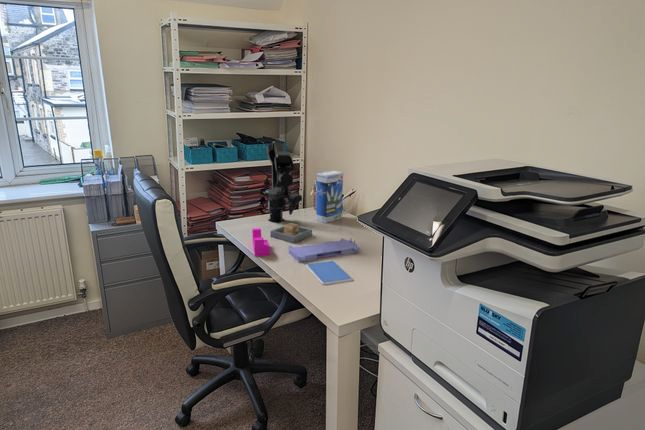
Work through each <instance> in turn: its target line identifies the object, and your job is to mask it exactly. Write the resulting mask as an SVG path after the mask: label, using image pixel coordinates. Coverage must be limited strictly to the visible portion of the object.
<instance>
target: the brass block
mask: <svg viewBox="0 0 645 430" xmlns="http://www.w3.org/2000/svg"><path fill="white" fill-rule="evenodd" d="M283 226H284V234H287V235H290V236H295V235H297V234H299V226H300V225H299V224H296V223H291V222H290V223H287V224H284V225H283Z"/></svg>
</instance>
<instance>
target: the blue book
mask: <svg viewBox="0 0 645 430" xmlns="http://www.w3.org/2000/svg"><path fill="white" fill-rule="evenodd" d="M305 267H306V268H307V269H308V270H309V271H310V272H311V273H312V275H313V276H314V277H315V278H316V279H317V280H318V281H319V283H321V285H323V286H327V285H333V284H335V285H336V284H341V283H347V282H352V281H354V280H353V279H354V278H352V277H351V275H350V274H348V272H347V271H345V269H343V268H342V267H341V266H340V265H339V264H337V262H336V261H334V260H329V261H322V262H319V261H318V262H313V263H306V264H305Z"/></svg>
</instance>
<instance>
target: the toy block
mask: <svg viewBox="0 0 645 430" xmlns="http://www.w3.org/2000/svg"><path fill="white" fill-rule="evenodd" d="M251 229H252V232H251V233H252V248H253V254H254V257H266V256H267V257H268V256H271V255H270V254H271V247H270V242H268V239H264V237H262V228H259V227H257V228H251Z"/></svg>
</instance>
